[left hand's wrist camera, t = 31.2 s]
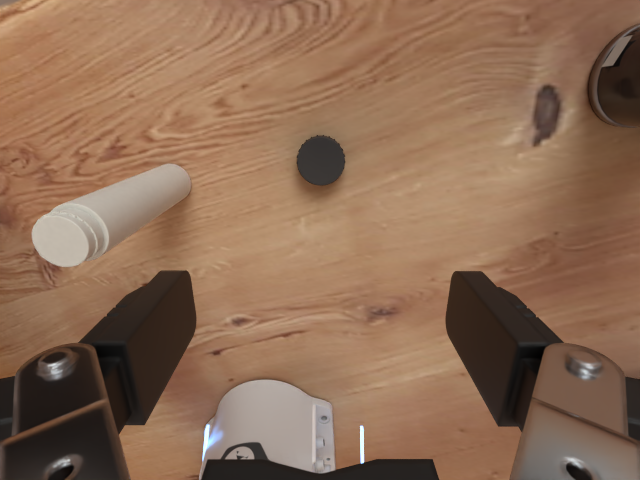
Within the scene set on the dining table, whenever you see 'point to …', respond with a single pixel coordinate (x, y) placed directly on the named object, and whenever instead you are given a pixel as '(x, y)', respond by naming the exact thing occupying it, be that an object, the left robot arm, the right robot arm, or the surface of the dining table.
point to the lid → (320, 160)
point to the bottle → (108, 215)
